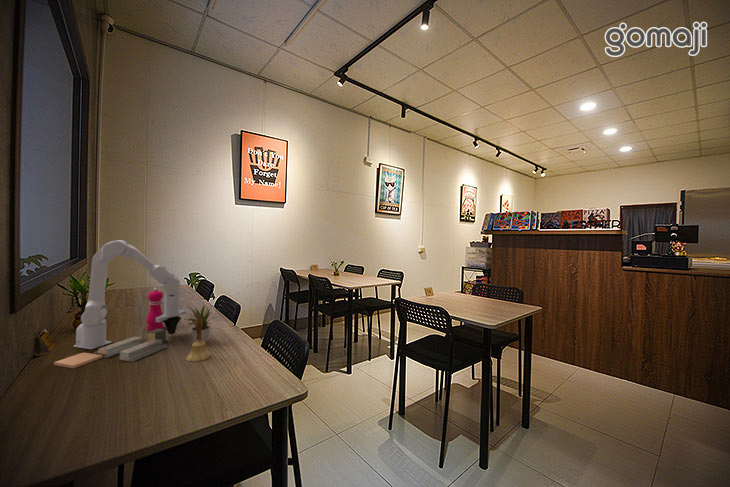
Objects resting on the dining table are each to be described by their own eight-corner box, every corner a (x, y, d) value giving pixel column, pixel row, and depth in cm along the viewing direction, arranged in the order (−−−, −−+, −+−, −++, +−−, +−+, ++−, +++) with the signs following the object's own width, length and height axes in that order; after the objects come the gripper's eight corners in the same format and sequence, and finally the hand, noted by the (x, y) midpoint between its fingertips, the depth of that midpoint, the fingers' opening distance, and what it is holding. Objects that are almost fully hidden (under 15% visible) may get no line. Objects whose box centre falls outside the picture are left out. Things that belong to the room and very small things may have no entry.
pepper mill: (154, 331, 141) (155, 289, 140) (142, 330, 142) (142, 288, 141) (167, 327, 148) (168, 286, 147) (155, 325, 149) (156, 285, 149)
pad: (53, 365, 104) (53, 362, 104) (83, 355, 113) (83, 352, 113) (73, 368, 102) (73, 365, 102) (102, 357, 111) (102, 355, 111)
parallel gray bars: (94, 355, 112) (94, 348, 112) (130, 343, 126) (130, 335, 126) (132, 361, 108) (133, 353, 108) (166, 347, 122) (166, 340, 122)
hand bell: (181, 358, 112) (181, 316, 112) (202, 351, 120) (202, 311, 119) (194, 363, 108) (195, 320, 108) (215, 355, 116) (216, 315, 115)
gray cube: (147, 343, 126) (147, 332, 126) (158, 339, 131) (158, 328, 131) (155, 344, 125) (155, 333, 125) (165, 340, 130) (165, 329, 130)
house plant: (183, 337, 134) (183, 301, 133) (217, 334, 140) (218, 299, 139) (178, 349, 121) (179, 309, 120) (216, 344, 127) (217, 306, 126)
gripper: (165, 308, 127) (165, 340, 127) (192, 301, 141) (191, 329, 141) (151, 307, 128) (151, 338, 129) (179, 300, 142) (179, 328, 143)
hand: (171, 333), depth 135 cm, fingers closed
